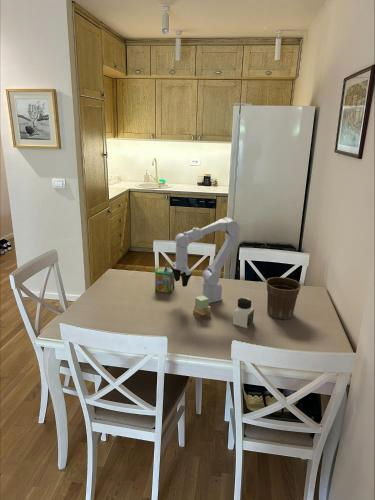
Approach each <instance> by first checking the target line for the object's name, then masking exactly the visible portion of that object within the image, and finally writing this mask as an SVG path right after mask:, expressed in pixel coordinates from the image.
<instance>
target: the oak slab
mask: <svg viewBox="0 0 375 500" xmlns="http://www.w3.org/2000/svg"><path fill="white" fill-rule="evenodd" d="M193 307H194V308H193V310H194V311H195V312H197V313H199V314H201V315H204V314H206V313H208V312H210V313H211V311H212V310H211V306H210V305H208V308H205V309H201V310H200V309H199V308H197V307H196V306H195V305H194V306H193Z"/></svg>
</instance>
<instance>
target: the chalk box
mask: <svg viewBox="0 0 375 500" xmlns="http://www.w3.org/2000/svg"><path fill="white" fill-rule="evenodd" d="M168 265H169V263H167V264H166V265H165V266H159V267H158V268H157V269H156V271H155V274H154V275H155V277H154V282H155V283H154V284H155V285H154V292H155V291H157V292H158V293H164V292H165V294H172V292H173V290H174V289H175V282H176V281H175V277H174V274H173V271H172V269H171V268H172V267H168ZM157 292H156V293H157Z"/></svg>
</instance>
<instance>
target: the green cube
mask: <svg viewBox="0 0 375 500" xmlns="http://www.w3.org/2000/svg"><path fill="white" fill-rule="evenodd" d="M194 303H195V304H194V306H196V307H197V308H199V309H200V310H201V309H205V308H208V306H209V304H210V303H209V299H208V298H207V297H205V296H204V295H203V294H202V295H200V296H198V295H197V296H195V300H194Z"/></svg>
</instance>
